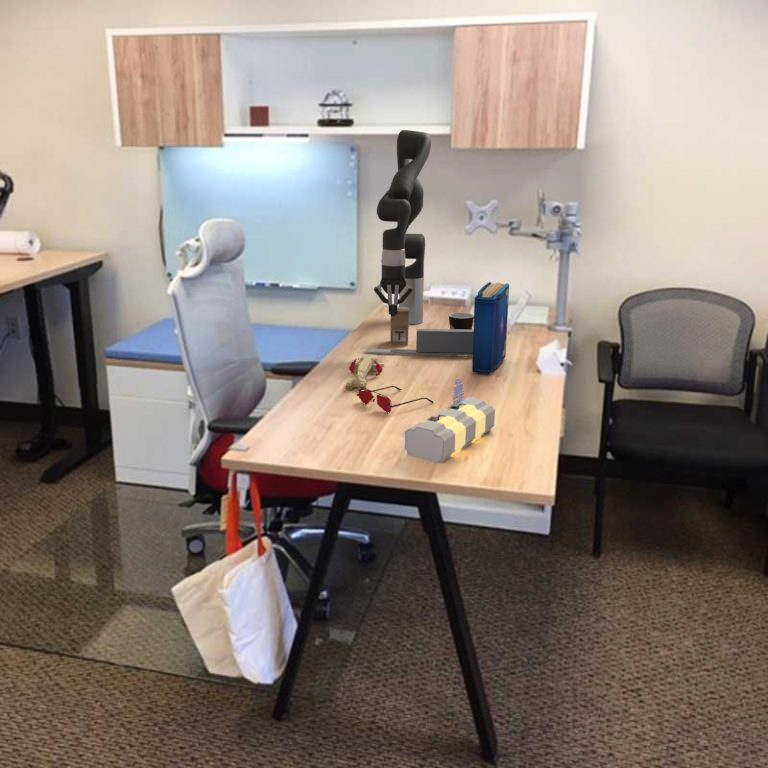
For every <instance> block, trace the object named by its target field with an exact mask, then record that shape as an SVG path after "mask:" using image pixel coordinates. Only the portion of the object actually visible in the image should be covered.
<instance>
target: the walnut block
mask: <svg viewBox="0 0 768 768" xmlns="http://www.w3.org/2000/svg"><path fill="white" fill-rule="evenodd" d="M408 319H409V307H399V306H397V315H395V316H391V315H390V344H389V345H390V346H397V345H408V346H409V324H408Z"/></svg>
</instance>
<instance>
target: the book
mask: <svg viewBox="0 0 768 768" xmlns="http://www.w3.org/2000/svg"><path fill="white" fill-rule="evenodd" d="M509 295H510V284H509V283H505V284H504V283H502V282H494V283H492V282H491V281H489V282H487V283H486V284H484V285H483V286H482V287H481V288H480V289H479V290H478V291H477V295H476V296H475V297H474V301H473V302H474V306H473V315H474V320H473V330H474V331H473V356H472V364H471V365H472V367H471V372H472V373H475V374H478V375H479V374H480V375H491V374H492V373H493V372H494V371H496V370H497V369H498V368H499V367H500V365H501V364H502V363H503V361H504V360H505V358H506V355H507V354H506V352H507V336H508V335H507V333H508V317H509V314H508V313H509V297H510V296H509Z"/></svg>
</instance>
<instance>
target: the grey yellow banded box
mask: <svg viewBox="0 0 768 768" xmlns="http://www.w3.org/2000/svg"><path fill="white" fill-rule="evenodd" d="M454 382H455V383H454V385H455V386H454V387H453V391H454V392H453V393H454V395H453V396H452V404H451V405H450V406H448V409H446V410H440V411H438V412H437V413H434V414H433V415H431V416H430V417H428V418H427V420H426V421H424V422H422V421H421V422H418V423H417V424H415V425H412V426H411V427H409V428H408V429H406V430H405V431H404V449H405V452H407V455H408V456H410V457H413V458H417V459H420V460H425V461H430V462H432V463H437V464H441V463H444V461H446V460H448V459H449V458H450V457H452V456H453V455H455V454H457V453H458V452H460V451H461V450H463V449H464V448H466V447H468V446H469V445H470V443H471V442H472V443H473V441H474V442H475V441H477V440H479V439H480V438H482V437H483V436H485V435H486V434H487V432H488V431H489V432H491V430H492V428H494V426H495V418H496V417H495V416H496V410H495V408H494V407H493V405H490V404H487V403H486V401H485V400H483V399H479V398H473V397H467V398H466V399H464V395H465V394H464V393H465V392H464V390H463V389H464V383H463V382H462V381H460V379H459V378H457V379H455V381H454ZM460 406H462V407H460ZM441 417H442V418H441ZM440 418H441V419H440ZM489 432H488V433H489ZM485 433H486V434H485ZM482 435H483V436H482ZM479 437H480V438H479ZM476 439H477V440H476ZM472 443H471V444H472ZM468 444H469V445H468ZM467 445H468V446H467Z"/></svg>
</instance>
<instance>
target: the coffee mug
mask: <svg viewBox="0 0 768 768" xmlns="http://www.w3.org/2000/svg"><path fill="white" fill-rule="evenodd" d="M448 322H449V323H448V324H449V329H464V330H473V327H474V313H473V314H472V313H469V312H453V313H449V314H448Z"/></svg>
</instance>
